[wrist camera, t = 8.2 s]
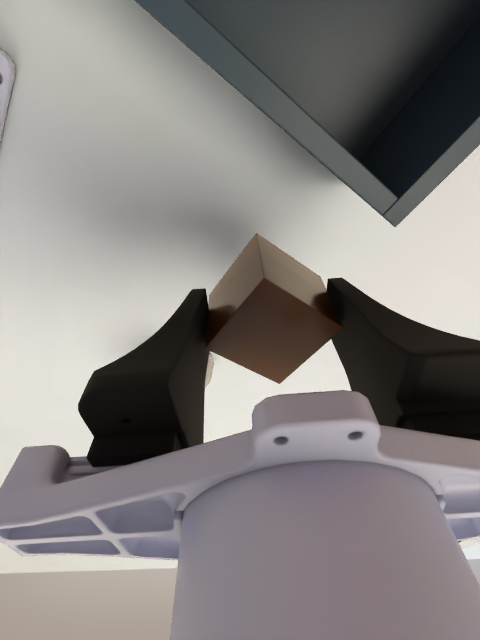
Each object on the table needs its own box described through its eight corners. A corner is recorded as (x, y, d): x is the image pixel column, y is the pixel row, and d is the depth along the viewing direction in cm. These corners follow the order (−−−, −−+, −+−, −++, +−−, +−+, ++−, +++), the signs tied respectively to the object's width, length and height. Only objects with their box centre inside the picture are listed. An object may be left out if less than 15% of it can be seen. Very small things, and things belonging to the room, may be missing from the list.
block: (270, 328, 17) (279, 384, 14) (209, 294, 16) (203, 348, 13) (320, 276, 15) (344, 327, 12) (256, 232, 14) (264, 277, 11)
